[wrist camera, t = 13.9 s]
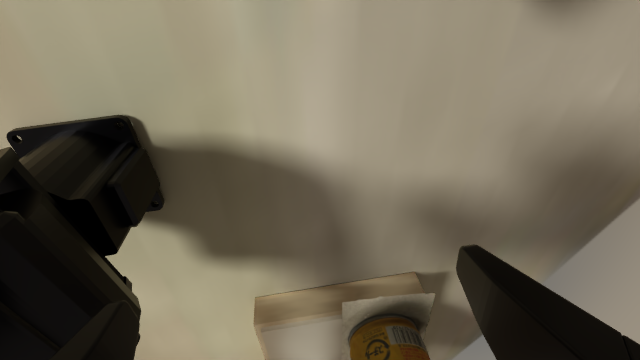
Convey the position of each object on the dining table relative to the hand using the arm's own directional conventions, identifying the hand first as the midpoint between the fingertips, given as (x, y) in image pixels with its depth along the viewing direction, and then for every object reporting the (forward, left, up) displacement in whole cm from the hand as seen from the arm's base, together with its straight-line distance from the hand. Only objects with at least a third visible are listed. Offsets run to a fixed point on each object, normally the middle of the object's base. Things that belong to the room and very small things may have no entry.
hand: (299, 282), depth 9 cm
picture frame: (+2, -22, -13) cm, 26 cm away
